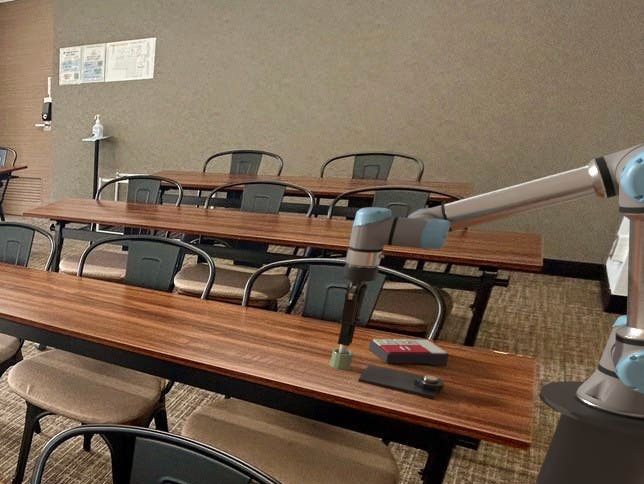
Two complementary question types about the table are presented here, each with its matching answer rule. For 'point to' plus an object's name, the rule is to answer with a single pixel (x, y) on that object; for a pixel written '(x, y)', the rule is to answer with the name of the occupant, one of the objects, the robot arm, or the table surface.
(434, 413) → the table surface
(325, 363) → the table surface
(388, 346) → the calculator
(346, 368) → the pen cup
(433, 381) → the button
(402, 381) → the tablet
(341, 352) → the stylus
